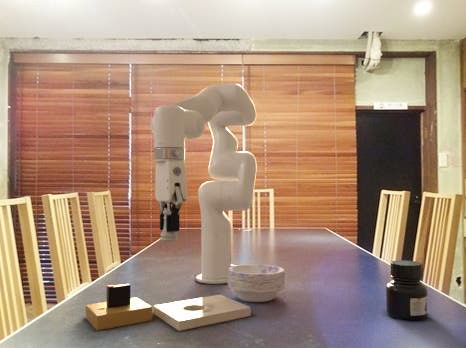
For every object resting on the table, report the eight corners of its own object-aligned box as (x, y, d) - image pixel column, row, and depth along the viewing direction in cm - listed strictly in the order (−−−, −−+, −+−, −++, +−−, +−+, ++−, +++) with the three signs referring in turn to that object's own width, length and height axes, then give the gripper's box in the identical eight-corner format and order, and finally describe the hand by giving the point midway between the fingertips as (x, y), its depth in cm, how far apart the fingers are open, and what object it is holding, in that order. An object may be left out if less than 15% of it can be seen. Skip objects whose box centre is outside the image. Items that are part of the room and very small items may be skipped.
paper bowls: (290, 293, 119) (290, 264, 119) (276, 308, 105) (276, 275, 105) (239, 289, 124) (239, 261, 124) (219, 303, 110) (218, 272, 110)
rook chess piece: (174, 242, 103) (174, 208, 103) (156, 241, 104) (156, 208, 104) (181, 239, 107) (181, 207, 107) (164, 239, 108) (164, 207, 108)
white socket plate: (220, 302, 110) (220, 294, 110) (250, 315, 99) (250, 307, 99) (153, 314, 101) (153, 305, 101) (178, 331, 89) (178, 321, 89)
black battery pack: (128, 303, 99) (128, 282, 99) (130, 304, 98) (130, 283, 98) (106, 306, 96) (106, 285, 96) (108, 308, 95) (108, 286, 95)
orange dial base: (136, 309, 104) (136, 296, 104) (151, 320, 96) (151, 306, 96) (85, 318, 98) (85, 304, 98) (97, 330, 89) (97, 315, 90)
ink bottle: (423, 324, 92) (422, 268, 92) (381, 317, 97) (381, 264, 97) (430, 312, 100) (429, 261, 101) (392, 307, 105) (391, 258, 105)
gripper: (197, 154, 101) (198, 232, 100) (170, 158, 115) (170, 227, 114) (167, 153, 97) (167, 234, 96) (143, 157, 111) (143, 228, 110)
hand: (169, 229), depth 105 cm, fingers closed on rook chess piece, 3 cm apart
